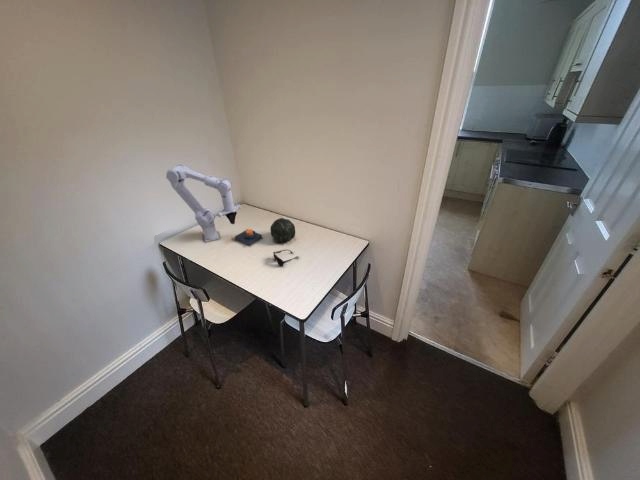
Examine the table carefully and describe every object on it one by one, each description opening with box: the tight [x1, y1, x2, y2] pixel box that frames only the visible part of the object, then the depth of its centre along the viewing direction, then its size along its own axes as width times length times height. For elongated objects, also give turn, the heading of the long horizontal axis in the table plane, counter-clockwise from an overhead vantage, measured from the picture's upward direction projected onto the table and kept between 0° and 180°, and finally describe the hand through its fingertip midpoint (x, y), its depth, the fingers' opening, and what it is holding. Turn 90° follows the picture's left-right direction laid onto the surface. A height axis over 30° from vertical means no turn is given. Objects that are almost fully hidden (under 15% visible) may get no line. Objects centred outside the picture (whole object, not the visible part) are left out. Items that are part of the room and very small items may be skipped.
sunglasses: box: [272, 249, 299, 267], centre depth 135 cm, size 11×12×5 cm
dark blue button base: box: [234, 228, 263, 247], centre depth 152 cm, size 12×10×4 cm
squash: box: [269, 217, 296, 243], centre depth 150 cm, size 14×15×15 cm
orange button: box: [245, 228, 254, 235], centre depth 150 cm, size 4×4×2 cm
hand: (232, 223), depth 148 cm, fingers closed
